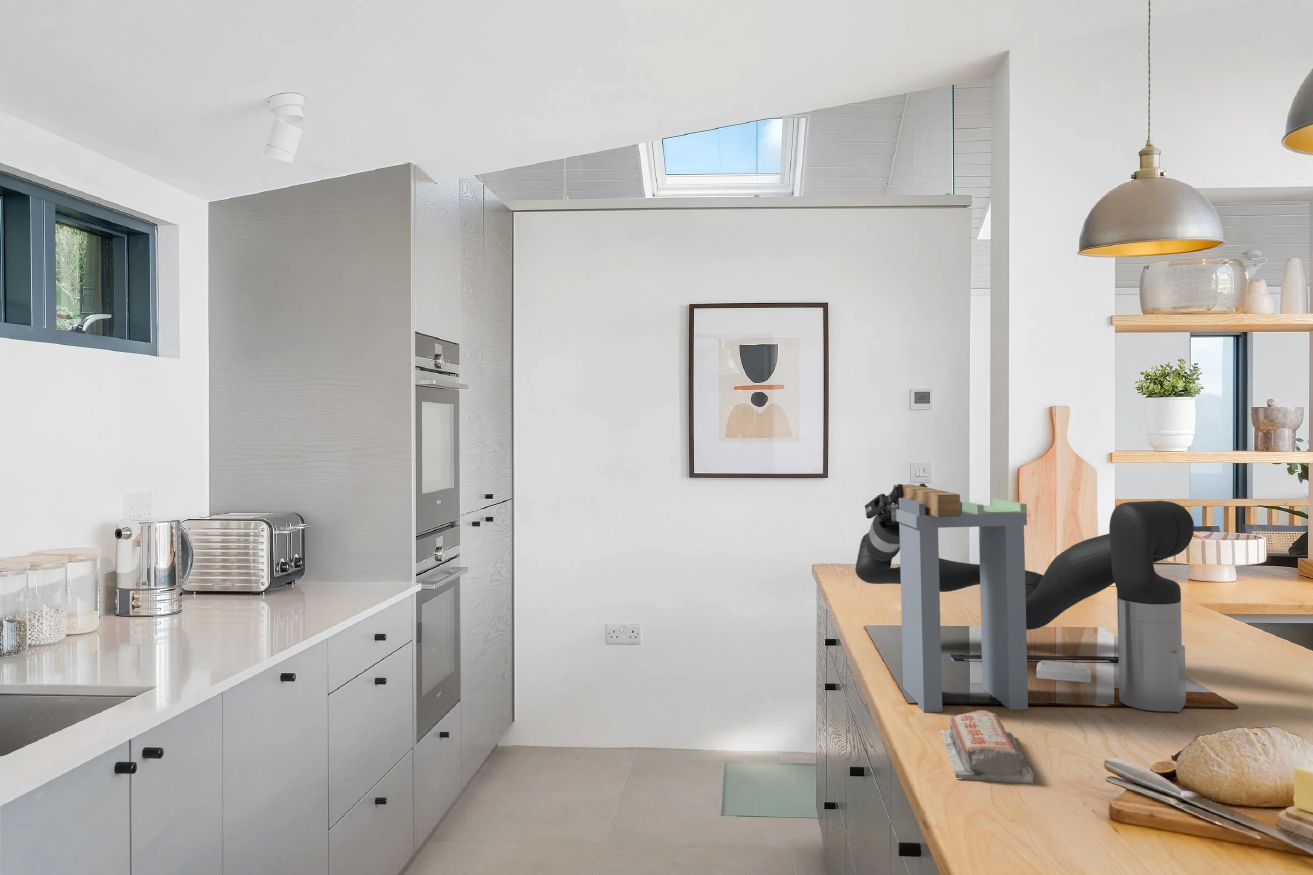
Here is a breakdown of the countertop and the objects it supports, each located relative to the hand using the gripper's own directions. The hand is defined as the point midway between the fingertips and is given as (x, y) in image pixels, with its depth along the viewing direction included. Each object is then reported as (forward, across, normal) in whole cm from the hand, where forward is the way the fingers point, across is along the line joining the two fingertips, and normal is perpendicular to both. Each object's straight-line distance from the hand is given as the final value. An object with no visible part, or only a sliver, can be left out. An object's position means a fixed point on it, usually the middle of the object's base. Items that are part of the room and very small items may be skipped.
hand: (912, 488), depth 162 cm
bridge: (-9, +5, +35) cm, 37 cm away
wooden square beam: (+4, 0, +6) cm, 7 cm away
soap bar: (-20, +28, +30) cm, 45 cm away
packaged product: (+13, -1, +49) cm, 51 cm away
